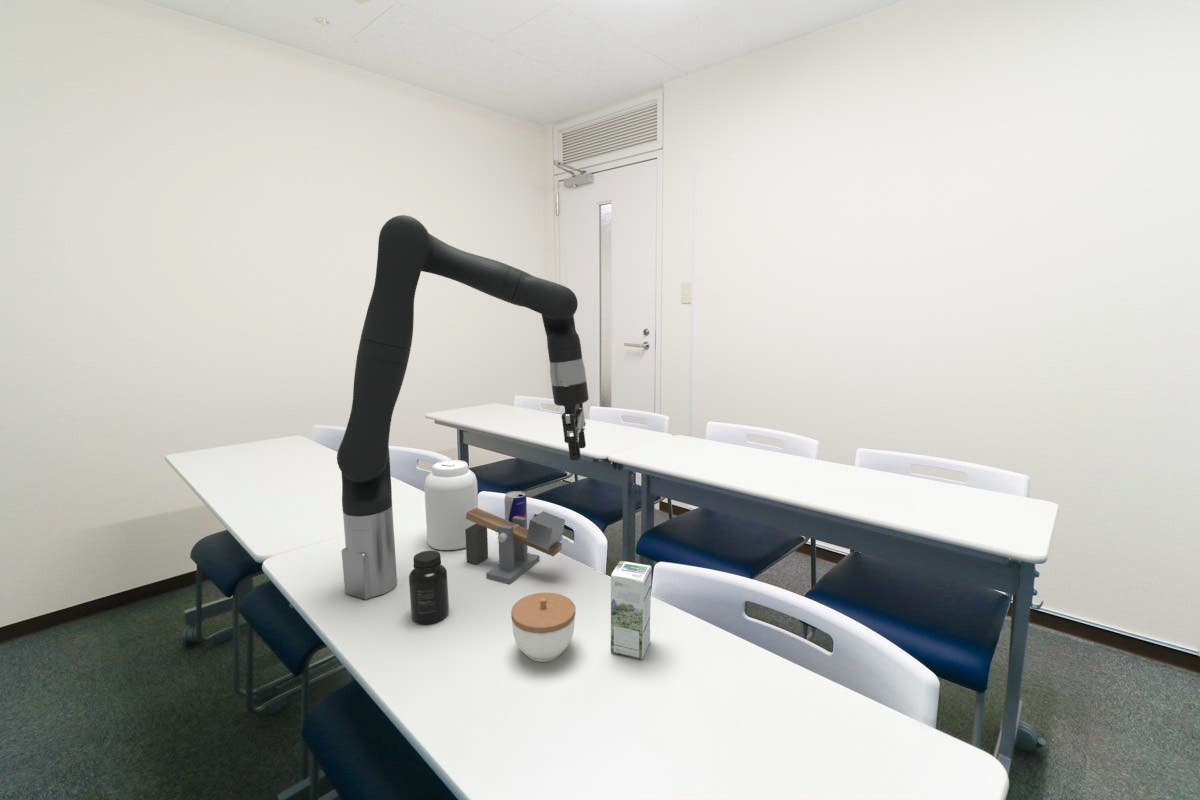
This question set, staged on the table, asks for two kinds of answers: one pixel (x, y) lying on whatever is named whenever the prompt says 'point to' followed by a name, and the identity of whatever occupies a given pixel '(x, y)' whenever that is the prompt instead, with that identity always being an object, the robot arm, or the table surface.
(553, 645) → the lidded jar
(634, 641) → the syrup box
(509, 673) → the table surface
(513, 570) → the stand
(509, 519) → the energy drink
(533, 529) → the block
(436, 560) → the supplement bottle
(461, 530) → the white protein powder tub
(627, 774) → the table surface
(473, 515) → the beam
